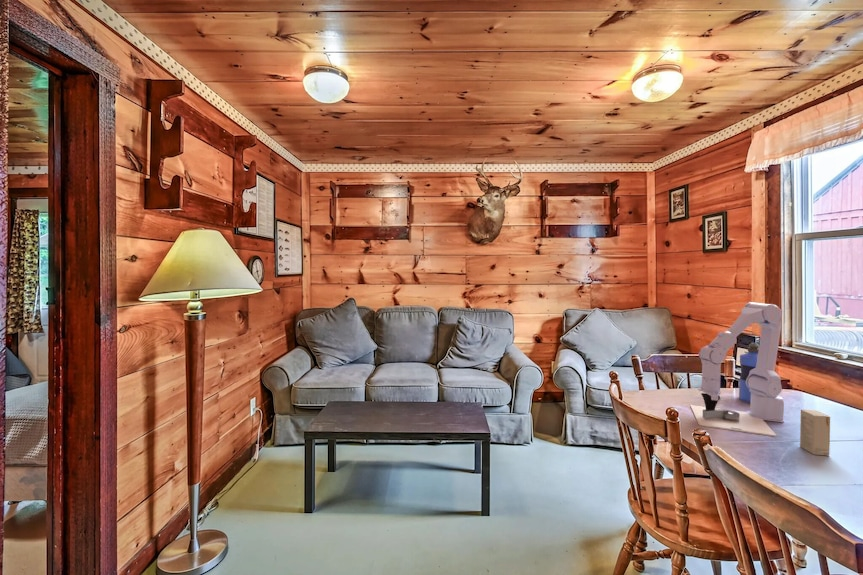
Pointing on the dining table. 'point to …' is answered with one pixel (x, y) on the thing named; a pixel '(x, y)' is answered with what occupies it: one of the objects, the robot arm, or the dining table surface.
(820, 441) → the skincare box
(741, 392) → the water bottle
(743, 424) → the base
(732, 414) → the twist lock
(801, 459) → the dining table surface
